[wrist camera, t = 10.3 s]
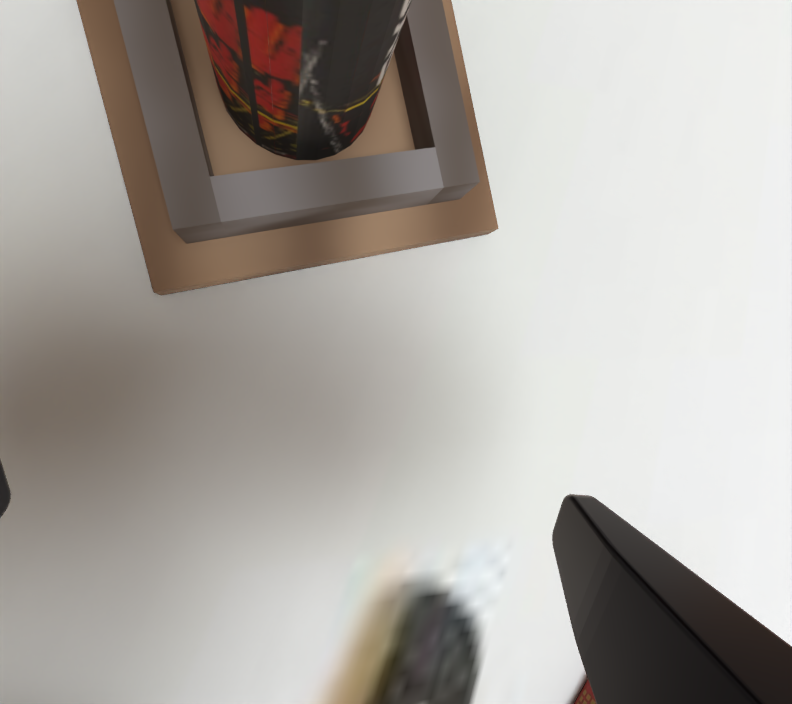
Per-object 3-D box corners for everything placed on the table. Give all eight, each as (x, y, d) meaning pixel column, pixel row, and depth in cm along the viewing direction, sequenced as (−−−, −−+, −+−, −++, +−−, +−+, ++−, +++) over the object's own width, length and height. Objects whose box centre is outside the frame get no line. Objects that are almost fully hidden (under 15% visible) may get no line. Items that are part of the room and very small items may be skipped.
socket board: (161, 295, 17) (134, 284, 14) (61, -85, 16) (9, -184, 13) (488, 234, 20) (522, 214, 17) (421, -84, 19) (446, -162, 16)
